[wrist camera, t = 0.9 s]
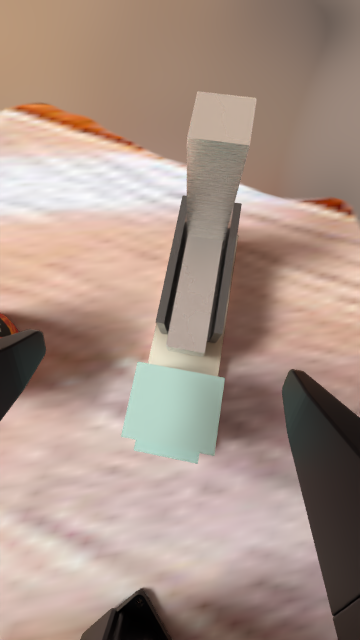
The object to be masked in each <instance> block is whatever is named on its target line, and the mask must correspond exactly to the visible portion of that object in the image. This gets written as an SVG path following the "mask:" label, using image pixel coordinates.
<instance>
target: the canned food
mask: <svg viewBox="0 0 360 640" xmlns="http://www.w3.org/2000/svg"><path fill="white" fill-rule="evenodd" d="M15 333H18V330H17V329H16V327H15V325H14V324H13V323H12V322H11V321H10V320H9V319H8V318H7V317H6V316H4V315H3V314H1V313H0V338H2V337H6V336H9V335H12V334H15Z"/></svg>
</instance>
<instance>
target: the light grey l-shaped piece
mask: <svg viewBox="0 0 360 640" xmlns="http://www.w3.org/2000/svg"><path fill="white" fill-rule="evenodd" d="M255 106H256V98H251V97H243V96H242V97H241V96H233V95H225V94H216V93H207V92H197V96H196V100H195V105H194V109H193V114H192V118H191V123H190V127H189V132H188V136H187V235H188V237H187V242H186V247H185V252H184V257H183V262H182V267H181V272H180V277H179V282H178V287H177V292H176V297H175V302H174V307H173V312H172V317H171V322H170V327H169V332H168V337H167V342H166V348H167V349H168V351H172V352H178V353H183V354H189V355H194V356H200V357H203V355H204V353H205V348H206V342H207V336H208V329H209V323H210V317H211V311H212V305H213V298H214V292H215V286H216V280H217V273H218V267H219V261H220V255H221V248H222V242H223V241H224V239H225V235H226V232H227V228H228V224H229V221H230V217H231V213H232V209H233V206H234V202H235V198H236V195H237V191H238V187H239V183H240V180H241V176H242V172H243V169H244V165H245V161H246V157H247V154H248V150H249V146H250V140H251V133H252V126H253V120H254V113H255Z"/></svg>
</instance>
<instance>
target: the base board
mask: <svg viewBox="0 0 360 640" xmlns="http://www.w3.org/2000/svg"><path fill="white" fill-rule="evenodd" d="M237 241H238V235H237V239H236V246H235V253H234V259H233V266H232V273H231V280H230V287H229V294H228V301H227V307H226V314H225V321H224V328H223V334H222V335H221V337H220V338H219V339H218V341H217V342H216V343H211V342H206V348H205V353H204V355H203V357H200V356H194V355H189V354H183V353H178V352H172V351H168V349H167V348H166V342H167V337H168V335H166V334H161V332H160V330H159V328H158V326H157V324H156V328H155V333H154V337H153V342H152V347H151V351H150V356H149V361H148V364H153V365H159V366H164V367H169V368H175V369H180V370H186V371H191V372H196V373H202V374H207V375H212V376H218V373H219V366H220V359H221V352H222V345H223V338H224V331H225V324H226V317H227V310H228V304H229V297H230V290H231V283H232V276H233V269H234V262H235V255H236V248H237Z"/></svg>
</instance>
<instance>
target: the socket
mask: <svg viewBox="0 0 360 640" xmlns="http://www.w3.org/2000/svg"><path fill="white" fill-rule="evenodd" d="M224 381H225V378H223V377H218V376H212V375H207V374H202V373H196V372H191V371H186V370H180V369H175V368H169V367H164V366H159V365H153V364H148V363H143V362H138V363H137V367H136V372H135V376H134V381H133V385H132V390H131V394H130V399H129V403H128V408H127V412H126V417H125V421H124V426H123V430H122V435H121V437H125V438H130V439H135V440H136V442H135V447H134V450H135V451H139V452H144V453H149V454H153V455H158V456H163V457H168V458H172V459H177V460H182V461H187V462H191V463H196V464H198V459H199V453H202V454H207V455H212V456H214V454H215V447H216V439H217V432H218V425H219V418H220V410H221V403H222V396H223V389H224Z"/></svg>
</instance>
